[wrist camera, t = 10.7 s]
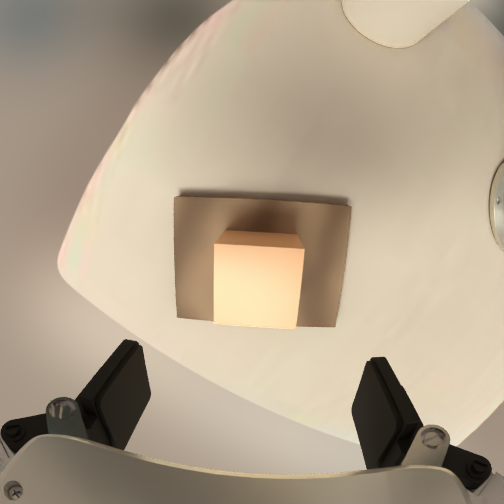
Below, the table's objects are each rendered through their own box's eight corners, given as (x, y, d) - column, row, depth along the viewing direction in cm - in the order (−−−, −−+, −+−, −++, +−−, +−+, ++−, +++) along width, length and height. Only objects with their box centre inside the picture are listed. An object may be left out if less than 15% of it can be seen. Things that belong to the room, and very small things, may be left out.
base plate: (347, 205, 26) (363, 211, 21) (332, 320, 29) (342, 345, 24) (178, 196, 27) (160, 200, 22) (181, 311, 30) (166, 334, 25)
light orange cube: (297, 234, 26) (304, 249, 20) (290, 300, 27) (295, 329, 22) (225, 230, 26) (214, 243, 20) (223, 296, 27) (213, 323, 22)
